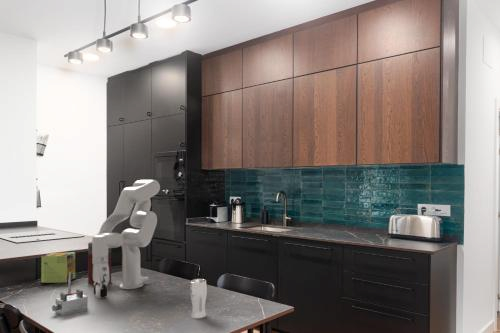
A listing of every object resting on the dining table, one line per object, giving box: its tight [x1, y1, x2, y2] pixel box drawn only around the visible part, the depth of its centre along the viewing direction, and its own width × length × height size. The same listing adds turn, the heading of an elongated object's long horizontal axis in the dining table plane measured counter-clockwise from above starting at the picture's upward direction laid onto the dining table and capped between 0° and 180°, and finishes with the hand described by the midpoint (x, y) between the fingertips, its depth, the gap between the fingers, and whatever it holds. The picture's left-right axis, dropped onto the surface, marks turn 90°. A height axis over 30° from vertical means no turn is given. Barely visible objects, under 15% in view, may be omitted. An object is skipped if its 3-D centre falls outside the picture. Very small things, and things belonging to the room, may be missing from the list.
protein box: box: [40, 251, 76, 284], centre depth 229 cm, size 10×15×16 cm
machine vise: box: [51, 288, 89, 317], centre depth 173 cm, size 13×8×8 cm, turn 135°
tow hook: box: [66, 272, 76, 296], centre depth 197 cm, size 8×13×9 cm
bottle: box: [95, 282, 104, 299], centre depth 195 cm, size 4×4×7 cm
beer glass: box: [189, 278, 208, 320], centre depth 165 cm, size 7×7×15 cm
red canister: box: [87, 233, 112, 286], centre depth 223 cm, size 9×11×28 cm
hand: (100, 294), depth 195 cm, fingers open, 6 cm apart
